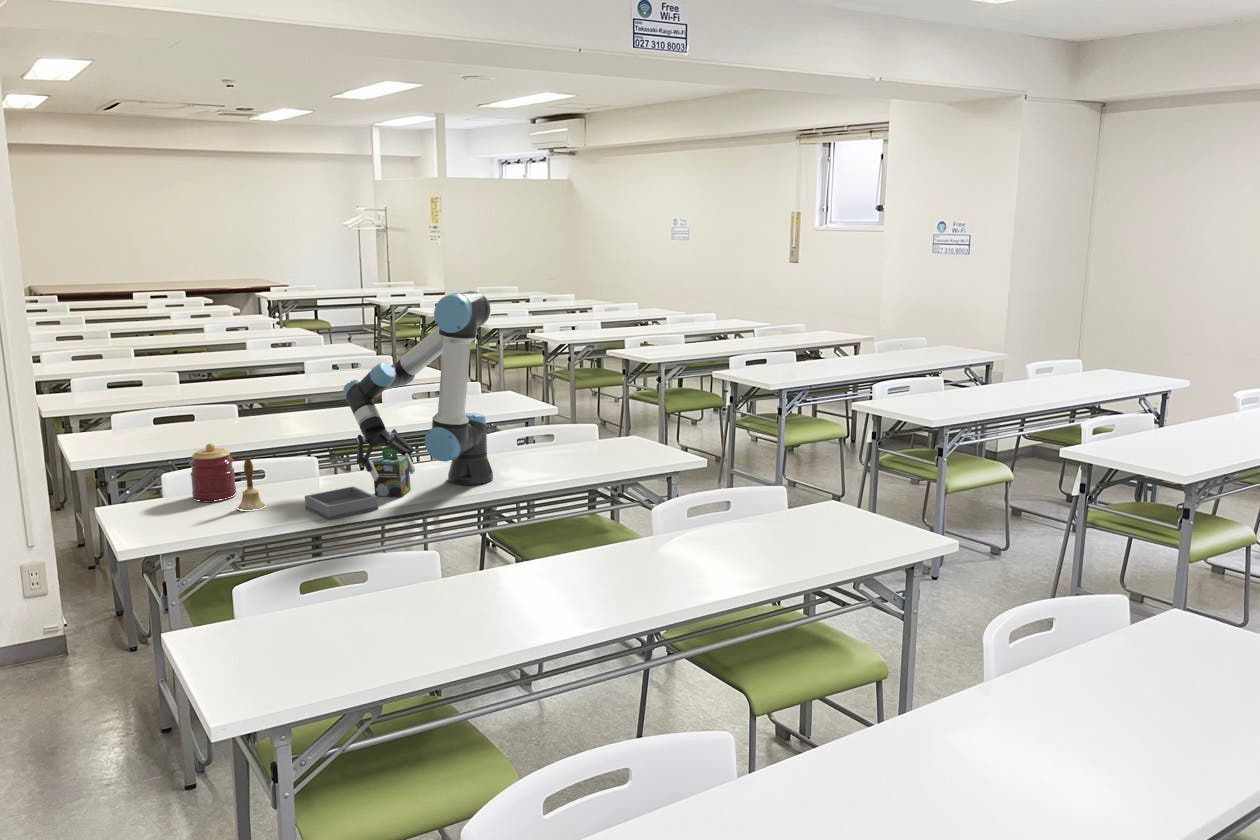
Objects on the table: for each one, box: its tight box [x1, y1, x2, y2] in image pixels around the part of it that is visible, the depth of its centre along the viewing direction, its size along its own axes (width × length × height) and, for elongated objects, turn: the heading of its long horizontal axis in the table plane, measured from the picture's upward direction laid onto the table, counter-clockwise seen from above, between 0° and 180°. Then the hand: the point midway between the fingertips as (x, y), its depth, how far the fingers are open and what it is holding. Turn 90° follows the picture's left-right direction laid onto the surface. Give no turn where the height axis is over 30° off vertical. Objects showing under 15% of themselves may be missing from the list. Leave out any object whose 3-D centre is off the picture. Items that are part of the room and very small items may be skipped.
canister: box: [188, 443, 237, 501], centre depth 309 cm, size 13×13×18 cm
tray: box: [304, 486, 379, 521], centre depth 297 cm, size 16×16×4 cm
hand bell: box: [237, 457, 266, 510], centre depth 297 cm, size 8×8×16 cm
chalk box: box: [372, 449, 412, 498], centre depth 313 cm, size 9×9×15 cm
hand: (395, 475), depth 311 cm, fingers closed on chalk box, 12 cm apart
